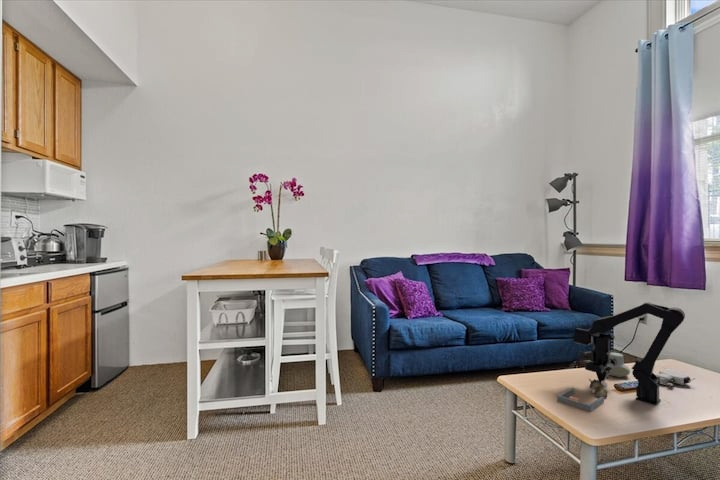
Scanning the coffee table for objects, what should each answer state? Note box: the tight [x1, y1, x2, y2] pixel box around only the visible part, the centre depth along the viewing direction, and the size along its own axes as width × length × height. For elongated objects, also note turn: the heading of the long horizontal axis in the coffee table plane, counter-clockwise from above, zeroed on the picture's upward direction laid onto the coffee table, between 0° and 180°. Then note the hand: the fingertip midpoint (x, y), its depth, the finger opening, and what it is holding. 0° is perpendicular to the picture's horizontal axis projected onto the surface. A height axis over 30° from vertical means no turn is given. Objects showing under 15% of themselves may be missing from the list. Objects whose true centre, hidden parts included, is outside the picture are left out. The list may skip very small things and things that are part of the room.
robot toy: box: [655, 368, 696, 387], centre depth 165 cm, size 12×4×15 cm
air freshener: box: [608, 351, 631, 378], centre depth 174 cm, size 11×8×10 cm
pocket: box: [556, 387, 605, 413], centre depth 145 cm, size 12×13×3 cm
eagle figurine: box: [588, 378, 608, 400], centre depth 152 cm, size 8×7×9 cm
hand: (601, 383), depth 158 cm, fingers closed
